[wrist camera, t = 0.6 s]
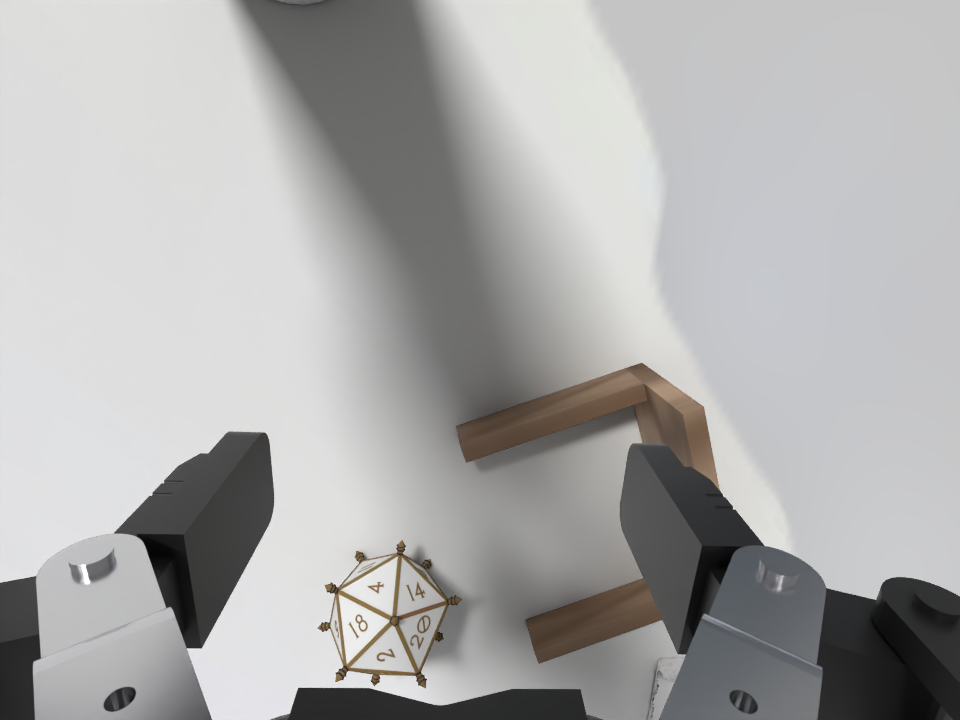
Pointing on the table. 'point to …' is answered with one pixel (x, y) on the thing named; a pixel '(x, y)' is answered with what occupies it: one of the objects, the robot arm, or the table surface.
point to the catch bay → (660, 422)
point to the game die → (387, 616)
